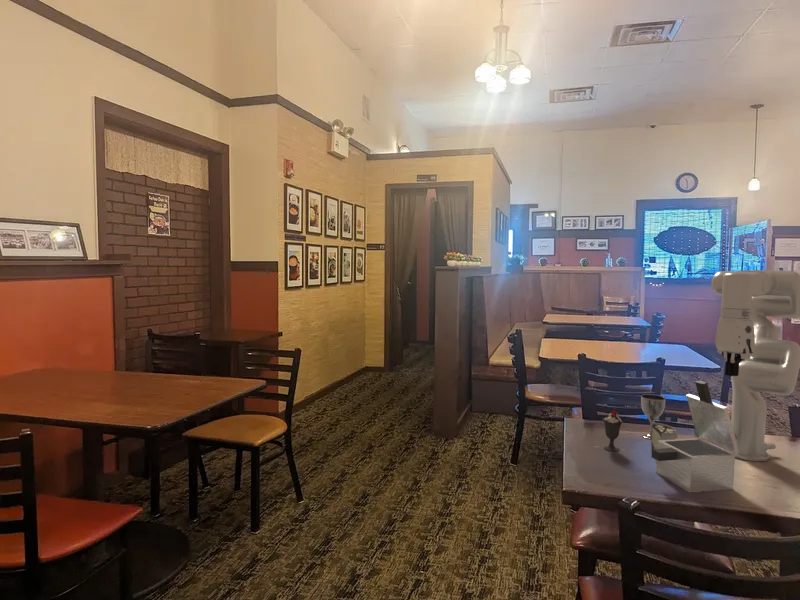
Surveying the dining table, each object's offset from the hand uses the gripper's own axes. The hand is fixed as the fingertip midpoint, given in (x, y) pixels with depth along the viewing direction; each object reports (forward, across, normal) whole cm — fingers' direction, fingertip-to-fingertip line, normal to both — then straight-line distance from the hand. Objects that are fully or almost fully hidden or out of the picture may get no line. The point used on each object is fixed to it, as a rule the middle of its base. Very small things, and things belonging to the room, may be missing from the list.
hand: (731, 375), depth 155 cm
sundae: (+31, +25, +22) cm, 45 cm away
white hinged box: (+31, -2, +16) cm, 35 cm away
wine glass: (+31, +34, 0) cm, 46 cm away
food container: (+31, +15, +9) cm, 35 cm away
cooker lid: (+11, -2, +9) cm, 14 cm away
